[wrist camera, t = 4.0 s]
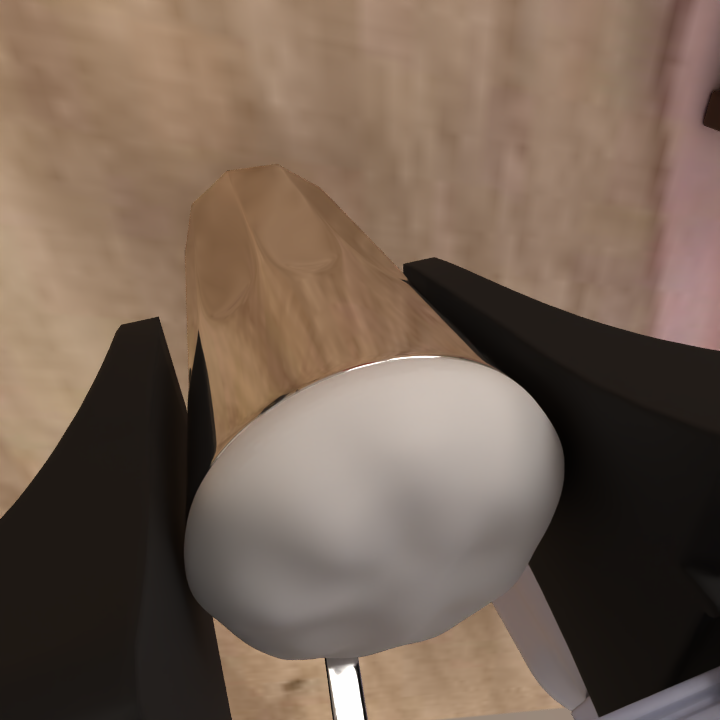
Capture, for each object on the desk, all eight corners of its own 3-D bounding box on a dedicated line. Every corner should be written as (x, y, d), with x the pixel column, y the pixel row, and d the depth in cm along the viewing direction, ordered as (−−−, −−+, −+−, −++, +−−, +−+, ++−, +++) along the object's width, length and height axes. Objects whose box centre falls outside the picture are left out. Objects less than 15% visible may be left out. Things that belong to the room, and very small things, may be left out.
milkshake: (138, 347, 14) (165, 879, 6) (163, 106, 11) (263, 538, 4) (325, 358, 16) (517, 782, 8) (385, 152, 13) (754, 506, 6)
